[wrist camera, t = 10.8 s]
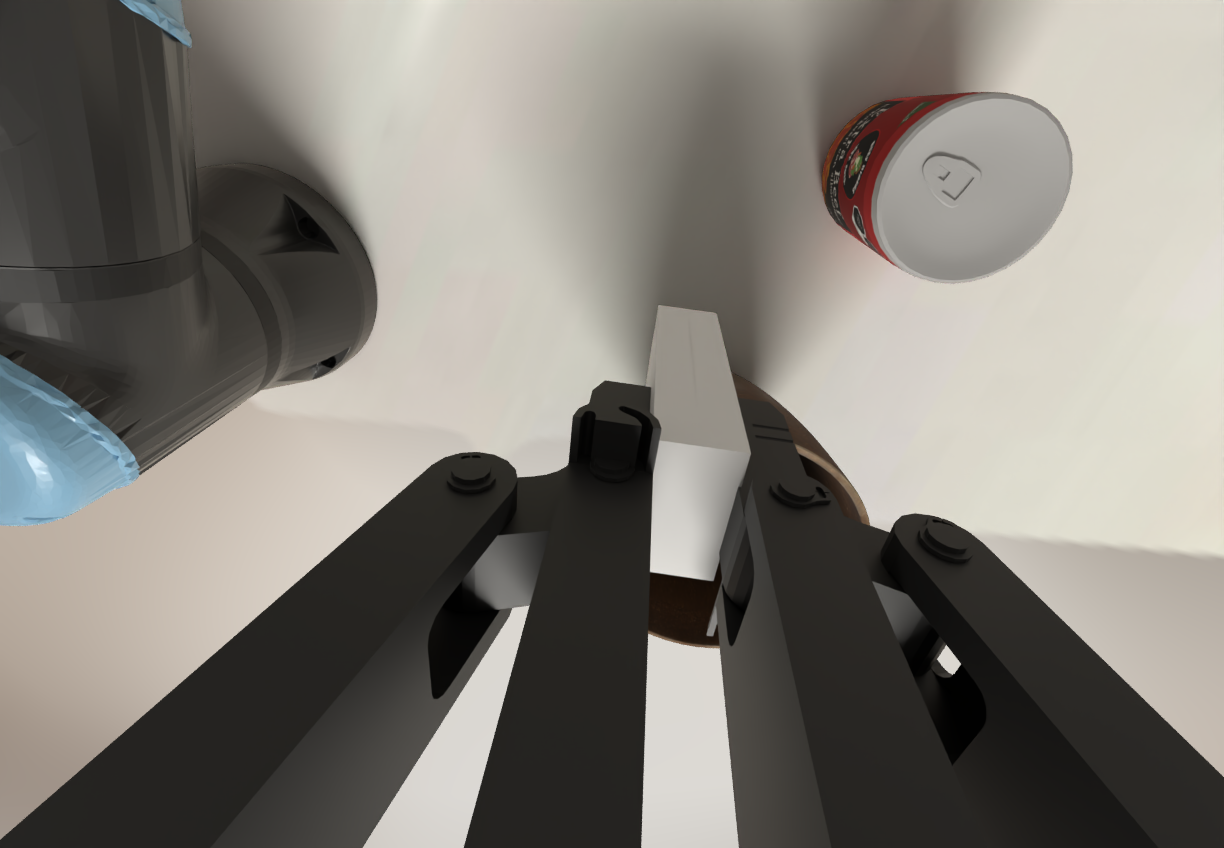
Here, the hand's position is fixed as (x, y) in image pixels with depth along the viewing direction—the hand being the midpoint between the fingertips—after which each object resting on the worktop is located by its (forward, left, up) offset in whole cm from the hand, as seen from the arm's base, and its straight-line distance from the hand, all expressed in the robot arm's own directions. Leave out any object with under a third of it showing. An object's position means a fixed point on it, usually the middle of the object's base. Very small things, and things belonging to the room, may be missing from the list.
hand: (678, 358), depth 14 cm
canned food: (+12, +4, -24) cm, 27 cm away
